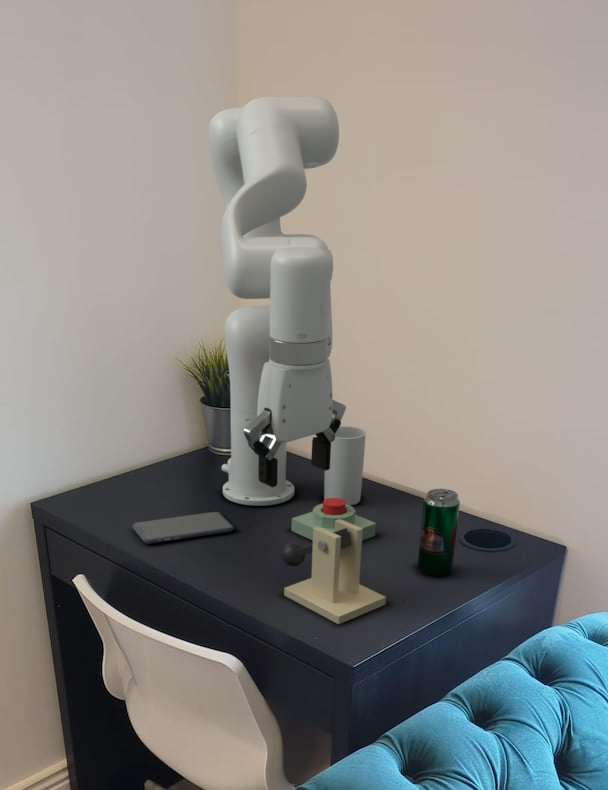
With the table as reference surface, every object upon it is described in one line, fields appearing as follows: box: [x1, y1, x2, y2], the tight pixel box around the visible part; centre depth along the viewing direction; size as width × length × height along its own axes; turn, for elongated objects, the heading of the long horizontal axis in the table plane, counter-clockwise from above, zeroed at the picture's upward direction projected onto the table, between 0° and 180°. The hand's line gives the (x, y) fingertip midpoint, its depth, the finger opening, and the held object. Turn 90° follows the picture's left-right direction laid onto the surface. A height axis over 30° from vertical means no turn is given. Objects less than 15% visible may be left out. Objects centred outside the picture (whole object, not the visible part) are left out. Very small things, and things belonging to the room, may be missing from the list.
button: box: [322, 498, 346, 515], centre depth 153 cm, size 4×4×2 cm
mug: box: [323, 425, 367, 506], centre depth 166 cm, size 10×7×12 cm, turn 13°
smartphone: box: [131, 511, 234, 545], centre depth 156 cm, size 8×1×15 cm
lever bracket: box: [283, 519, 387, 625], centre depth 132 cm, size 11×9×11 cm
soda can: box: [417, 488, 461, 578], centre depth 140 cm, size 5×5×12 cm
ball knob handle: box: [281, 528, 352, 567], centre depth 135 cm, size 13×3×3 cm
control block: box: [291, 503, 377, 542], centre depth 154 cm, size 10×9×4 cm
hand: (294, 475), depth 134 cm, fingers open, 9 cm apart
